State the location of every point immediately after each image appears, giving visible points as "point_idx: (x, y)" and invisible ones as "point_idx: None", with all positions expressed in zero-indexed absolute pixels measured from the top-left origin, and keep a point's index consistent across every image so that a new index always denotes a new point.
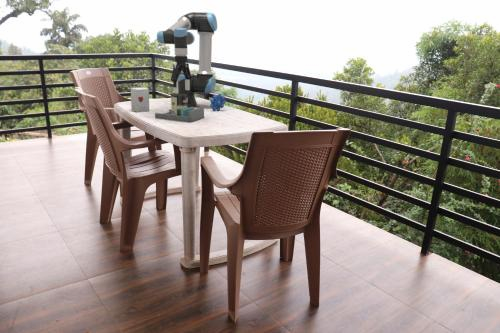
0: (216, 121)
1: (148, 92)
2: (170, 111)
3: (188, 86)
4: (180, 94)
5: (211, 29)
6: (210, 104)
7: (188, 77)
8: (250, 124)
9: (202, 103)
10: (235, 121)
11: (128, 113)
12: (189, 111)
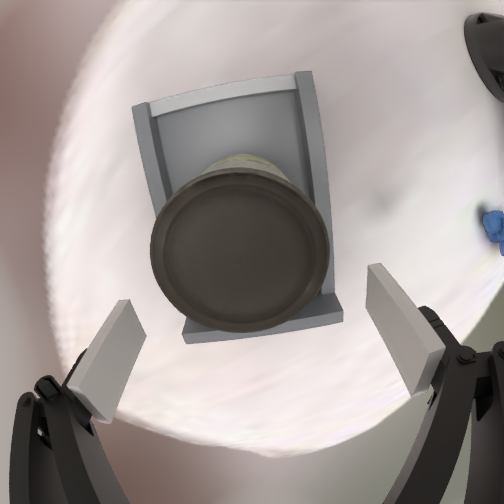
0: (290, 360)
1: None
2: (296, 85)
3: (381, 329)
4: (258, 261)
5: None
6: (496, 219)
7: (422, 423)
8: (310, 423)
9: None
10: (329, 389)
11: None
12: (184, 339)
